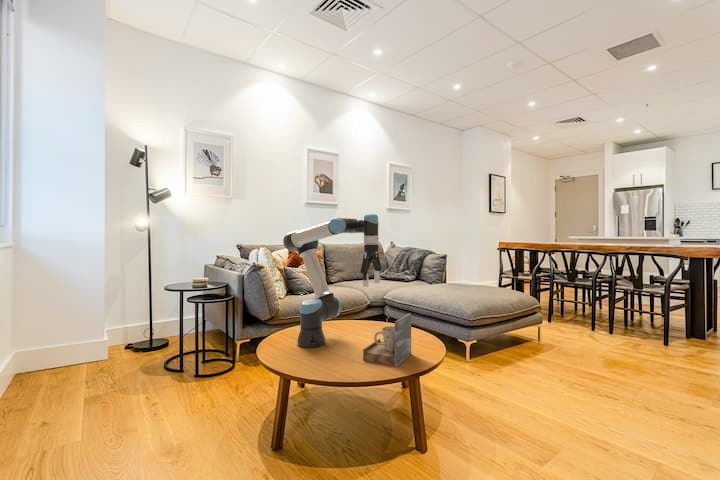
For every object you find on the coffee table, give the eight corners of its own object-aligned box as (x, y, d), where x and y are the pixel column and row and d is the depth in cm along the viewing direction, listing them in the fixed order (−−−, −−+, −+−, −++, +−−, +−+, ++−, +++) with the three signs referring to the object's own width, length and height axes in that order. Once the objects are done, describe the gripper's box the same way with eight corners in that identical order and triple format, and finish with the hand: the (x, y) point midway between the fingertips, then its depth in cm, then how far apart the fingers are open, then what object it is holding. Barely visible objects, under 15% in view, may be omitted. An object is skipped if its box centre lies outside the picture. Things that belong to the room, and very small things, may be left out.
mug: (399, 352, 165) (399, 331, 165) (372, 351, 167) (372, 330, 167) (400, 347, 173) (400, 326, 173) (375, 345, 176) (374, 325, 175)
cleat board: (363, 360, 167) (362, 317, 166) (378, 348, 183) (378, 310, 182) (398, 366, 159) (397, 322, 158) (411, 354, 175) (411, 313, 174)
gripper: (367, 245, 172) (367, 288, 172) (387, 243, 194) (387, 282, 194) (353, 244, 175) (353, 287, 176) (374, 243, 197) (375, 281, 198)
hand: (371, 284), depth 185 cm, fingers open, 13 cm apart
